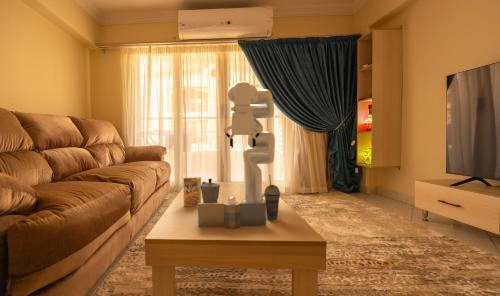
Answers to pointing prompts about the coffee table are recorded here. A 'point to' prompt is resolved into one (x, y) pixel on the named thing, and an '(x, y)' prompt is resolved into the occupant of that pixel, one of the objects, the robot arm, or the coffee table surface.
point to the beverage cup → (272, 201)
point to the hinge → (231, 215)
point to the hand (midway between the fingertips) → (242, 147)
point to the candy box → (192, 191)
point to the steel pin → (231, 200)
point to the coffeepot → (210, 192)
